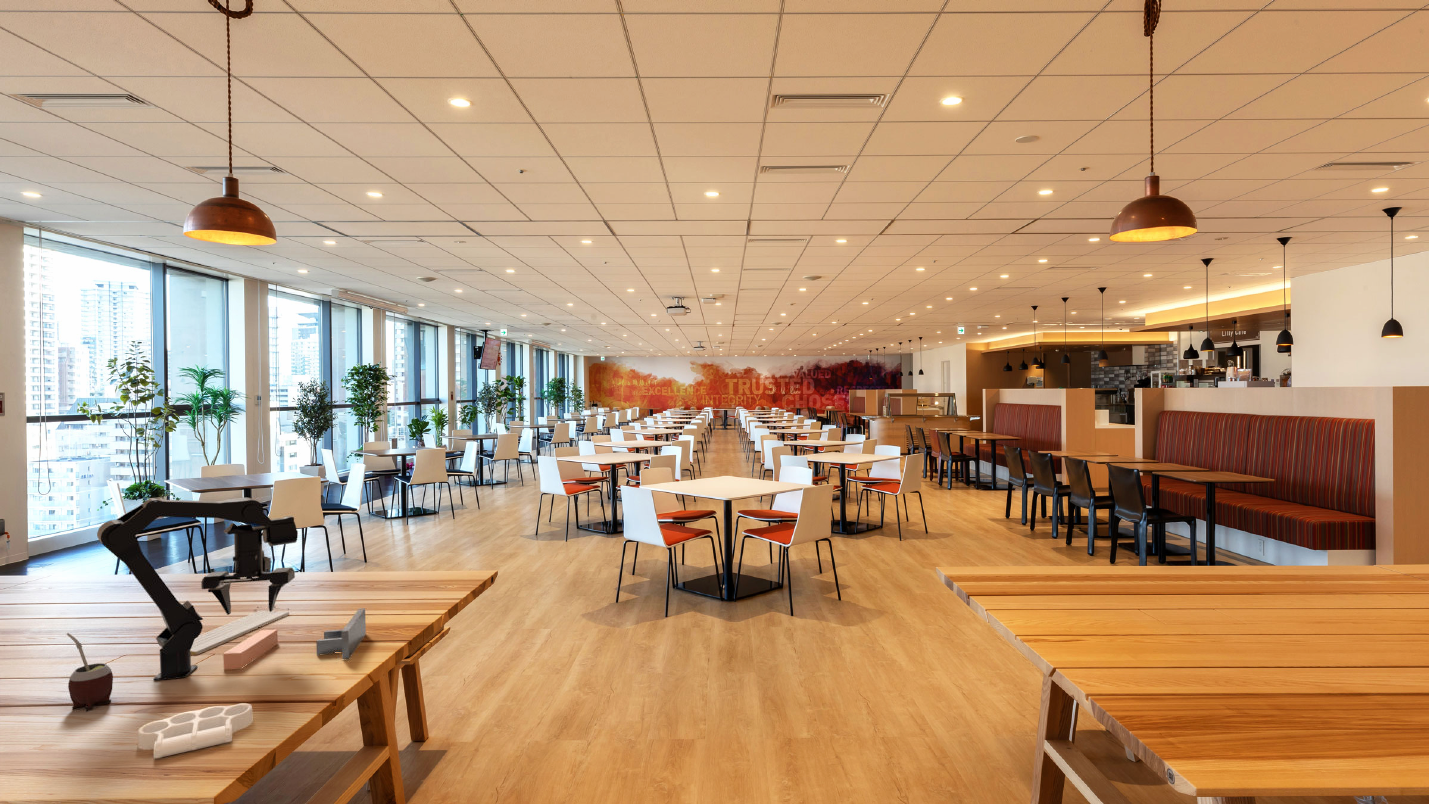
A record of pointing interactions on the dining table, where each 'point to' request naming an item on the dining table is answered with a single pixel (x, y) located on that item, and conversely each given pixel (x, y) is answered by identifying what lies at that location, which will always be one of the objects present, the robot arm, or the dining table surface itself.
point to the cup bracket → (344, 637)
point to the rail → (250, 649)
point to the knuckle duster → (194, 729)
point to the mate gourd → (90, 683)
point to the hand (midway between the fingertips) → (250, 612)
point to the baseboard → (234, 630)
